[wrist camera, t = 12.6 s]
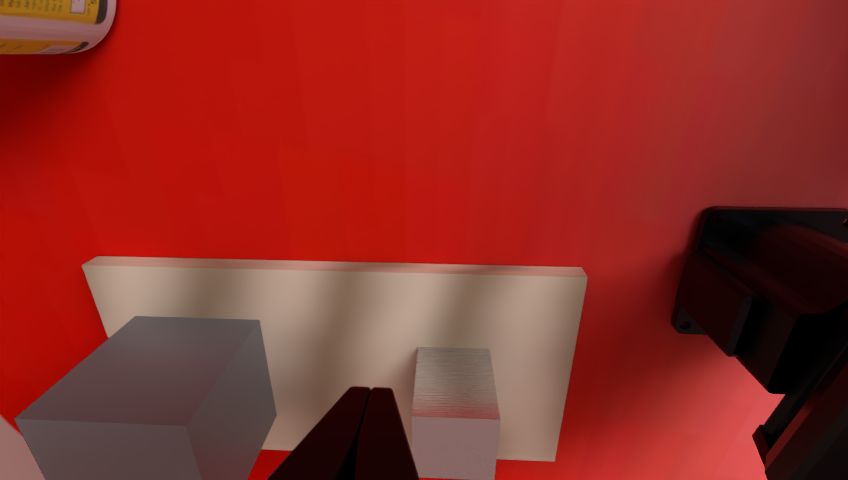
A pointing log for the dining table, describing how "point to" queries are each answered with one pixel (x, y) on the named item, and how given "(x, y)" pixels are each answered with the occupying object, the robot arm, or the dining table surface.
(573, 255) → the dining table surface
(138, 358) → the gray matte cube
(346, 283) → the board
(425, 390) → the grey cube
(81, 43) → the supplement bottle
